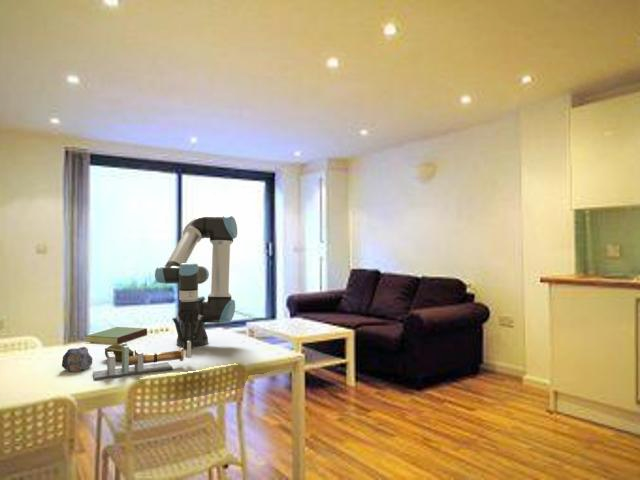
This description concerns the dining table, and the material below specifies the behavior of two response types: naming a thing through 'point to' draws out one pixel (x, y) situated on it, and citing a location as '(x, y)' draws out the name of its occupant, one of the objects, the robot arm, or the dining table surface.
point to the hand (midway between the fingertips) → (188, 357)
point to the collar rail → (127, 370)
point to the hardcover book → (116, 335)
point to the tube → (158, 357)
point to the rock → (77, 360)
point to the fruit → (117, 352)
